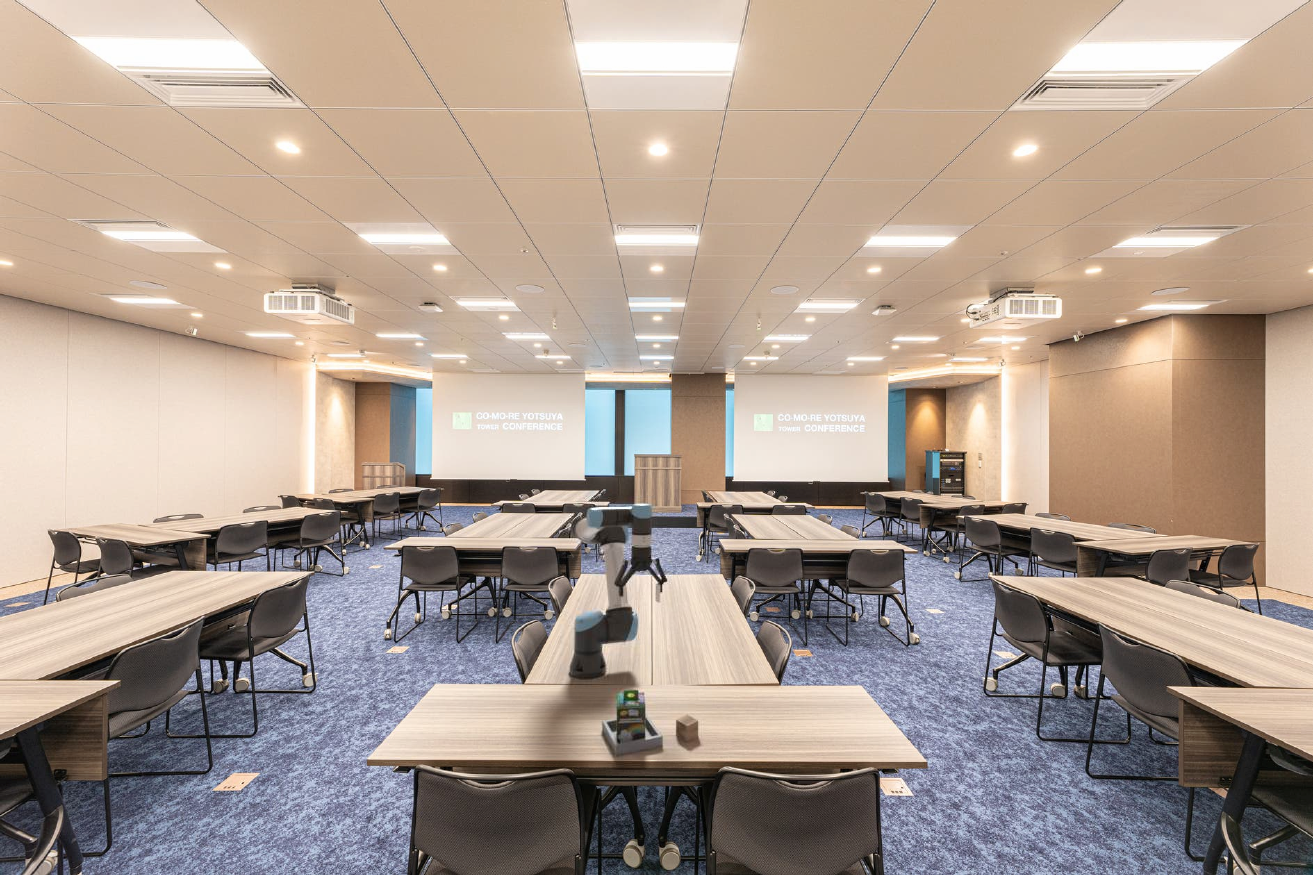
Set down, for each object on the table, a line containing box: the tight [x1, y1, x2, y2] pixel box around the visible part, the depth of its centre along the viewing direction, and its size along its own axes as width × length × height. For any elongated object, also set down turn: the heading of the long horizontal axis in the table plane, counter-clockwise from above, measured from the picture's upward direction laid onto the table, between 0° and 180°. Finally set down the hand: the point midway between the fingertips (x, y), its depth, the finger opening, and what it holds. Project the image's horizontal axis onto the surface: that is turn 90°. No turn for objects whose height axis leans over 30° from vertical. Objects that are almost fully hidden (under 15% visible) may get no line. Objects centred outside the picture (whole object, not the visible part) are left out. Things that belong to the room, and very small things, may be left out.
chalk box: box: [615, 689, 647, 744], centre depth 156 cm, size 9×9×15 cm
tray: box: [601, 712, 664, 757], centre depth 156 cm, size 15×15×3 cm
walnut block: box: [675, 714, 699, 743], centre depth 158 cm, size 5×5×5 cm
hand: (640, 603), depth 183 cm, fingers open, 13 cm apart
